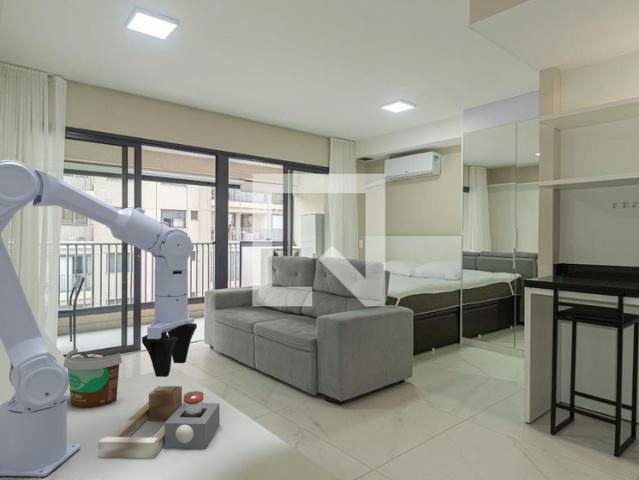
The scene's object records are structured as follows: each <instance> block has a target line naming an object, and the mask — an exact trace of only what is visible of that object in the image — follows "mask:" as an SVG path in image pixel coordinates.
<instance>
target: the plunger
mask: <svg viewBox="0 0 639 480" xmlns="http://www.w3.org/2000/svg"><path fill="white" fill-rule="evenodd" d="M204 395H205V394H204V392H203V391H199V390H195V391H194V390H193V391H189V392H186V393H185V394H184V395H183V403H184V402H185V403H186V417H200V418H201V416H202V403H203V402H202V401H204V399H205V398H204Z"/></svg>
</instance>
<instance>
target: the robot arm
mask: <svg viewBox="0 0 639 480" xmlns="http://www.w3.org/2000/svg"><path fill="white" fill-rule="evenodd" d="M32 201H33V202H32ZM31 202H32V206H33V207H51V206H55V207H59V208H63V209H65V210H67V211H70V212H72V213H75V214H78V215H80V216H82V217H84V218H87V219H89V220H92V221H94V222H97V223H99V224H102V225H104V226H107V227H108V229H109V230H110V233H111V235H112V236H113V238H115V239H116V240H119V241H121V242H124V243H126V244H128V245H130V246H133V247H134V248H138V249H139V250H143V251H145V252H147V253H150V254H151V256H152V257H153V258H154V318H153V320H152V322H151V324H150V325H149V326H148V327H147V329H146V331H147V333H146V335H144V336H141V343H142V345H143V346H144V348H145V349H146V351H147V353H148V355H149V357H150V360H151V363H152V368H153V371H154V375H155V377H156V378H159V377H160V378H168V377H169V375H170V372H171V367H172V361H173V364H185V363H186V361H187V359H188V354H189V350H190V345H191V340H192V338H193V336H194V334H195V332H196V330H197V327H198V326H197V325H198V324H197V323H195V318H194V317H192V311H189V309H188V307H189V306H188V305H189V303H188V300H189V296H188V295H189V290H188V289H189V288H188V287H189V285H188V284H189V277H188V276H189V275H188V274H189V269H188V268H189V267H188V266H189V265H188V263H189V262H188V261H189V258H190V257H191V255H192V254H193V251H194V247H195V244H194V243H192V239H191V237H190V236H189V234H188V233H187V231H184V230H183V229H178V228H174V229H173V228H172V229H171V228H170V222H167V221H166V220H165V221H159V220H157V219H155V218H153V217H151V216H149V215H147V214H145V212H146V210H145V209H143V208H141V207H135V208H133V207H131V206H130V207H126V208H123V209H118V208H116V207H114V206H112V205H110V204H108V203H107V202H104V201H103V200H102V199H99V198H97V197H95V196H93V195H92V194H89V193H88V192H85V191H83V189H82V190H81V189H80V188H78V187H76V186H74V185H72V184H70V183H69V182H67V181H64V180H63V179H60V178H59V177H58V176H55V175H52V173H48V172H46V171H44V170H41V169H38V168H35V169H33V168H32V167H30V166H29V165H28V164H26V163H24V162H21V161H19V160H12V159H3V160H0V340H1V342H2V344H3V347H4V349H5V351H6V352H5V353H6V354H7V357H8V360H9V362H10V368H9V373H8V378H9V382H10V384H11V386H12V387H13V389H14V391H15V392H14V394H13V396H12V397H11V399H10V400H7V401H5V402H2V403H0V476H1V477H2V476H7V477H8V476H9V477H46V476H48V475H49V474H50V473H52V471H54V470H55V469H56V468H58V467H59V466H60V465H61V464H63V463H64V462H65V461H66V460H68V458H70V457H71V456H72V455H74V454H75V453H76V452H77V451H78V450H79V449H80V448H81V445H80V444H68V394H67V393H68V392H67V390H68V389H69V376H68V370H66V368H65V367H64V366H62V365H60V364H59V363H58V361H57V358H55V356H54V355H53V354H51V351H50V349H49V347H48V346H47V343H46V342H45V339H44V337H43V335H42V333H41V331H40V328H39V325H38V324H37V321H36V318H35V316H34V314H33V313H34V312H33V311H32V308H31V306H30V304H29V301H28V299H27V297H26V294H25V292H24V289H23V286H22V284H21V282H20V279H19V277H18V274H17V272H16V270H15V267H14V264H13V263H12V260H11V258H10V255H9V252H8V250H7V248H6V245H5V243H4V240H3V238H2V233H3V231H4V230H5V228H6V227H7V226H8V224H9V223H10V221H11V220H12V219H13V217H14V215H15V214H16V213H17V212H18V211H20V210H21V209H23V208H25V207H26V206H27V205H29V204H30V203H31Z"/></svg>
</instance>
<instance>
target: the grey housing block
mask: <svg viewBox="0 0 639 480" xmlns="http://www.w3.org/2000/svg"><path fill="white" fill-rule="evenodd" d="M220 410H221V409H220V402H217V403H215V402H210V403H209V402H202V416H201V418H200V417H186V403H184V402H182V405H181V406H180V407H179V408H178V409H177V410H176V411H175V413H174V414H173V415H172V416H171V417H170V418H169V419H168V420H167V421H164V424H165V446H164V449H178V450H179V449H181V450H183V449H187V450H193V449H194V450H206V448H207V447H208V445H209V444H210V442H211V441H212V439H213V437H214V436H215V434H216V432H217V431H218V429H219V427H220V422H221V421H220Z"/></svg>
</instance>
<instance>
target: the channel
mask: <svg viewBox="0 0 639 480" xmlns="http://www.w3.org/2000/svg"><path fill="white" fill-rule="evenodd" d="M183 403H185V402H184V401H183ZM148 420H149V401H148V402H146V404H144V405H143V406H142V407H141V408H140V409H139V410H137V411H136V412H135V413H134V414H133V415H132V416H131V417H128V419H127V420H126V421H124V422H123V423H122V424H121V425H120V426H119V427H118V428H116V430H114V431H113V432H112V433H111V434H109V436H103V437H102V438H101V439H100V440H99V441H98V442H97V453H98V454H97V456H98V457H97V458H102V459H103V458H107V459H108V458H114V459H115V458H116V459H118V458H120V459H154V458H156V457H157V455H158V454H159V452H161V450H162V449H163V448H165V423H164V424H163V425H162V426H161V427H160V428H159V429H158V431H157V432H156V433H155V434H154V435H153V436H152V437H138V436H137V437H136V436H133V437H132V435H133V434H134V433H135V432H136V431H138V429H139V428H140V427H141V426H142V425H144V423H146V421H148Z"/></svg>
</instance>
